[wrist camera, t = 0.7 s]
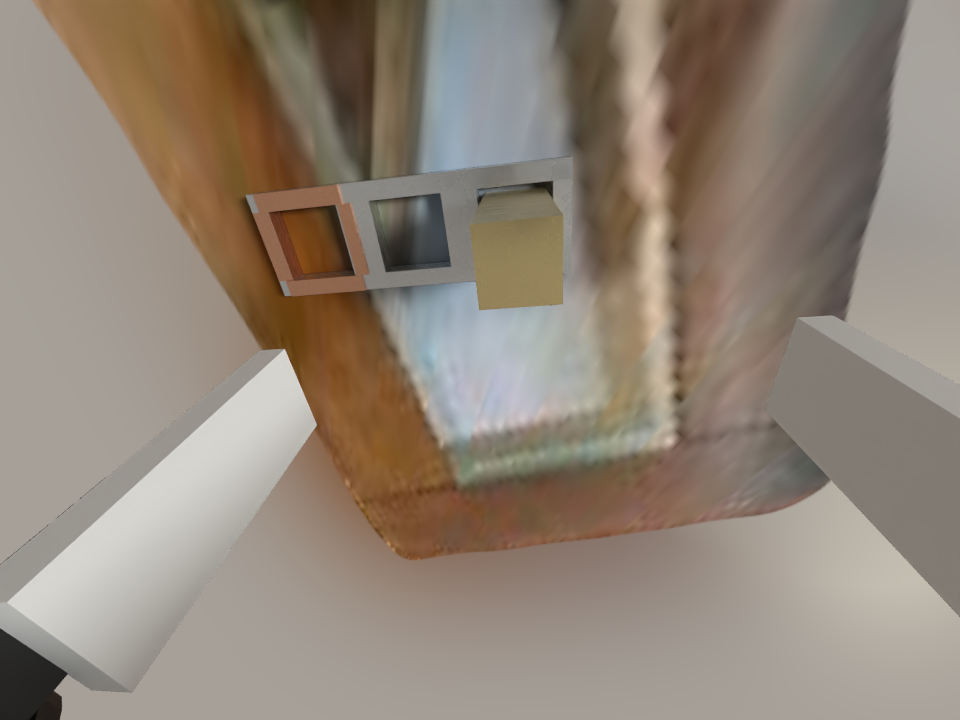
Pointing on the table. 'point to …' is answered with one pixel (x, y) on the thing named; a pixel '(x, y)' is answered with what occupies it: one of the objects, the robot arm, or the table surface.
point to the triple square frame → (367, 231)
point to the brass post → (518, 249)
